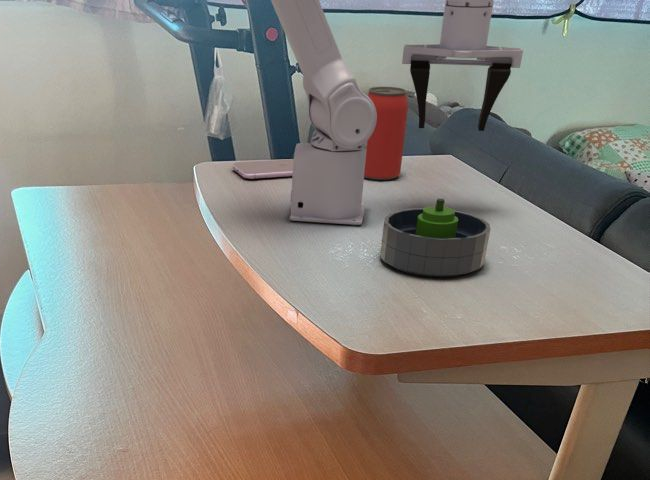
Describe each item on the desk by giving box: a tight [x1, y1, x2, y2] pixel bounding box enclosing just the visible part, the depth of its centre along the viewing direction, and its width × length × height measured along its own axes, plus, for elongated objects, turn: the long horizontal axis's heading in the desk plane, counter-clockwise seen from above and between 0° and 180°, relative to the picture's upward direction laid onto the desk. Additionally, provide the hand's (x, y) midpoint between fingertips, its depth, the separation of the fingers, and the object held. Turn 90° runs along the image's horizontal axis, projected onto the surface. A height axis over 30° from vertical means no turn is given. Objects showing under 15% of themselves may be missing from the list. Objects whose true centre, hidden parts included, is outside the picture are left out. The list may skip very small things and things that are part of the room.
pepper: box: [415, 198, 458, 238], centre depth 96 cm, size 5×5×7 cm
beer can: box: [364, 86, 409, 181], centre depth 126 cm, size 7×7×12 cm
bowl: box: [379, 207, 491, 278], centre depth 97 cm, size 12×12×4 cm
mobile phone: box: [232, 158, 294, 180], centre depth 130 cm, size 8×1×15 cm
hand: (451, 128), depth 109 cm, fingers open, 7 cm apart
